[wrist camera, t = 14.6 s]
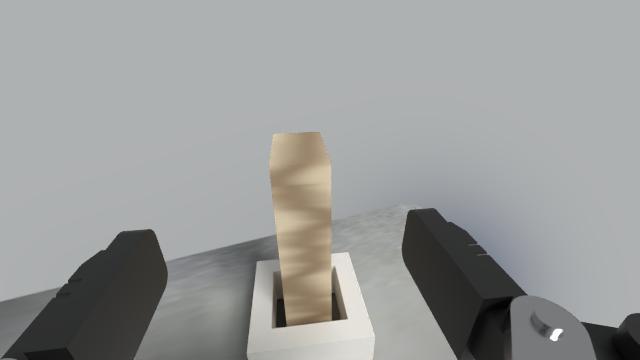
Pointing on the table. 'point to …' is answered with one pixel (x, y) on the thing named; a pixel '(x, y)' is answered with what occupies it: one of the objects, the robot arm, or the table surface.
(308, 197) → the wooden l-shaped block
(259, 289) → the square well
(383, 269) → the table surface
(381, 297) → the table surface
